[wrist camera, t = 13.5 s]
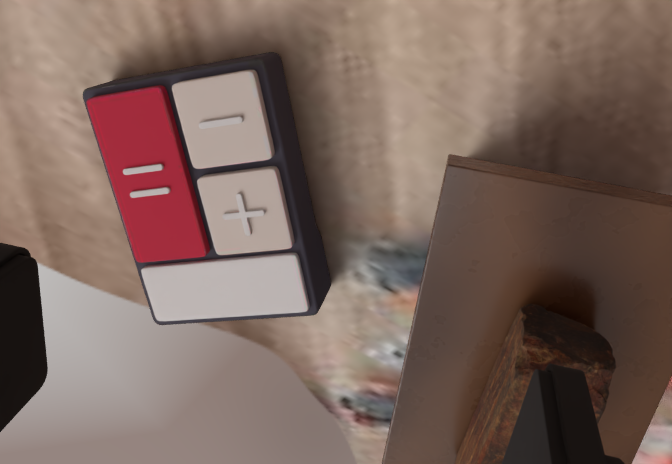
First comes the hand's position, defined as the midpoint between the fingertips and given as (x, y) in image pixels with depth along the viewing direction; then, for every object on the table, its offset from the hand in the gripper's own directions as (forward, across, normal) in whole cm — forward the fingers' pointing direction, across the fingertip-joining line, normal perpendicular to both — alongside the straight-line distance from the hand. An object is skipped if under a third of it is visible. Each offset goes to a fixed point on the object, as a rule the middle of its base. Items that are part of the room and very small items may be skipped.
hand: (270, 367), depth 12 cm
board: (+18, -9, +13) cm, 24 cm away
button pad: (+26, +10, +9) cm, 29 cm away
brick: (+17, -9, +12) cm, 23 cm away
